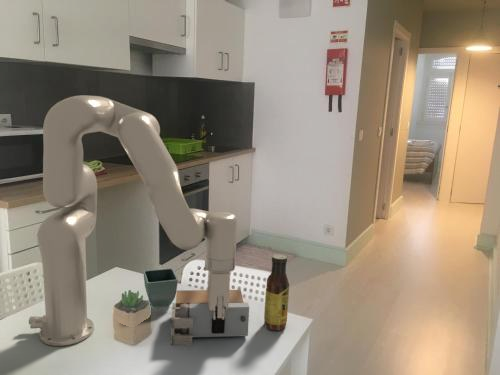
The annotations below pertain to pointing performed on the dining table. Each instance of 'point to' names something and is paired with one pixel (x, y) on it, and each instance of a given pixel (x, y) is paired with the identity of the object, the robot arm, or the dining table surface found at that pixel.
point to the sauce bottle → (277, 295)
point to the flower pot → (160, 286)
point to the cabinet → (203, 297)
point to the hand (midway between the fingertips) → (217, 328)
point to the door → (203, 317)
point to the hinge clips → (180, 323)
